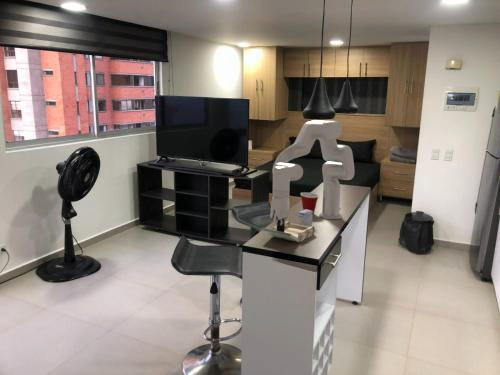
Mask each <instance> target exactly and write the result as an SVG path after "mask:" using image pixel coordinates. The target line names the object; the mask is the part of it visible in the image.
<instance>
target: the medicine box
mask: <svg viewBox="0 0 500 375" xmlns="http://www.w3.org/2000/svg"><path fill="white" fill-rule="evenodd" d="M313 217H314V215H313V211H311V210H307V209H305V210H303V209H302V210H300V211H298V212H297V219H296V220H297V221H296V222H297V225H302V226H307V227H310V226H313Z"/></svg>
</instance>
